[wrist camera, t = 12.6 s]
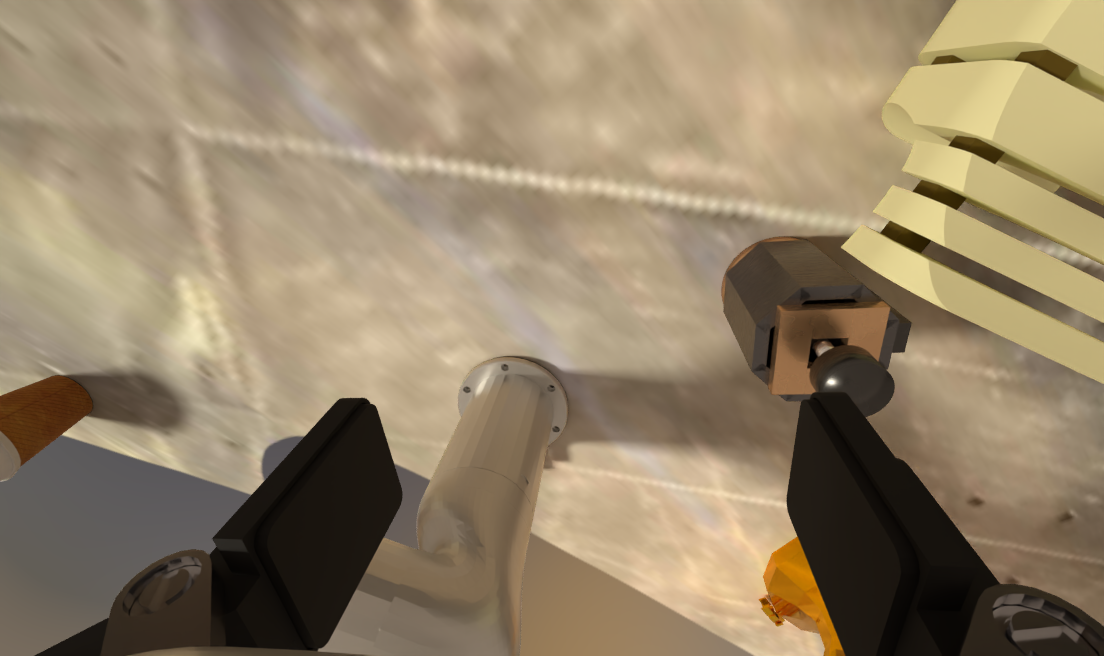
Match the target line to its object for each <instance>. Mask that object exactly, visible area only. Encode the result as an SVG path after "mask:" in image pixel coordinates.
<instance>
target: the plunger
mask: <svg viewBox="0 0 1104 656" xmlns="http://www.w3.org/2000/svg"><path fill="white" fill-rule="evenodd" d="M823 303H824V300H806V301H805V302H804V303H802V304H801V305H804V304H823ZM774 329H775V326H774V327H773V328H771V329H770V332H774ZM811 347H812V349H813V350H814V351H815V353H816V354H817V355H818V358H817V359H816V360H815V361H814V363H813V364H812V366H811V369H810V373H809V378H810V382H811V384H812V386H813V388H814V389H815V391H816V392H845V393H847V394H848V395H849V397H850V398H851V399H852V401H853V402H854V403H855V405H856V406H857V407H858V409H859V410H860V411H861V413H862V414H863V415H864V417H867V416H870V415H872V414H875V413H876V412H878V411H880V410H881V409H882V408H884V407H885V406H886V405H887V404H888V403H889V401H890V400H891V398H892V396H893V393H894V389H895V385H894V380H893V378H892V376H891V375H890V374H889V372H888V371H887V370H886V369H885V368H884V367H883V366H882V365H881V364H880V363H879V362H878V361H877V360H876V359H875V358H874V357H873V356H872V355H871V354H870V353H869V352H868V351H867V350H865V349H864V348H861V347H858V346H854V345H842V346H837V347H834V346H833V345H832V344H831V343H830V341H829V340H828V339H811Z"/></svg>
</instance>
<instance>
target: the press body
mask: <svg viewBox="0 0 1104 656" xmlns="http://www.w3.org/2000/svg"><path fill="white" fill-rule="evenodd" d="M722 300H723V304H724V311H723V312H724V314H725V316H726V318H727V320H728V322H729V324H730V327H731V329H732V331H733V333H734V335H735V337H736V339H737V341H738V343H739V346H740V348H741V350H742V352H743V354H744V356H745V358H746V360H747V363H748V365H749V367H750V369H751V371H752V372H753V373H754V374H755V375H757V376H758V377H759V378H760V379H761V380H762V381H763V382H765V383H766V384H767V385H768V388H769V390H770V392H771V394H772V395H780V396H781V397H782V398H783V399H784V400H785V401H802V400H804V399H810V396H811V395H812V393H814V392H816V391H815V389H814V388H813V386H812V384H811V382H810V378H809V373H810V369H811V366H812V364H813V363H814V361H815V360H816V359H817V358H818V355H817V354H816V353H815V351H814V350H813V349H812V347H811V339H828V340H829V341H830V343H831V344H832V345H833V346H834V347H837V346H842V345H854V346H858V347H861V348H864V349H865V350H867V351H868V352H869V353H870V354H871V355H872V356H873V357H874V358H875V359H876V360H877V361H878V362H879V363H880V364H881V365H882V366H883V367H884V368H885V369H886V370H887V369H888V367H889V363H890V358H891V354H892V353H900V352H905V348H906V343H907V339H908V335H909V331H910V327H911V322H910V321H909V320H907V319H906V318H905V317H904V316H902V315H901V314H900V313H899V312H897V311H896V310H895V309H894V308H892V307H891V306H890V305H889V304H887V303H886V302H885V301H884V300H882V299H881V298H880V297H879V296H877V295H876V294H875V293H873V292H872V291H871V290H870V289H868V288H867V287H866V286H865V285H863V284H862V283H861V282H859V281H858V280H857V279H856V278H854V277H853V276H852V275H851V274H849V273H848V272H847V271H846V270H844V269H843V268H842V267H841V266H839V265H838V264H837V263H836V262H834V261H833V260H832V259H831V258H829V257H828V256H827V255H825V254H824V253H823V252H822V251H820V250H819V249H818V248H817V247H815V246H814V245H813V244H812V243H810V242H809V241H808V240H801V239H798V238H793V237H773V238H769V239H765V240H762V241H759V242H757V243H755V244H753V245H751V246H749V247H748V248H746V249H745V250H744V251H742V252H741V253H740V254H739V255H738V256H737V257H736V258H735V259H734V260H733V261H732V263H731V264H730V266H729V267H728V269H727V271H726V273H725V275H724V278H723V282H722ZM806 300H824V303H823V304H804V305H801V304H802V303H804V302H805V301H806ZM774 326H775V329H774V332H770V329H771V328H773V327H774Z"/></svg>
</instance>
